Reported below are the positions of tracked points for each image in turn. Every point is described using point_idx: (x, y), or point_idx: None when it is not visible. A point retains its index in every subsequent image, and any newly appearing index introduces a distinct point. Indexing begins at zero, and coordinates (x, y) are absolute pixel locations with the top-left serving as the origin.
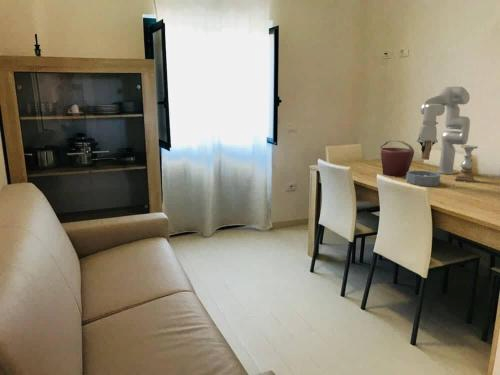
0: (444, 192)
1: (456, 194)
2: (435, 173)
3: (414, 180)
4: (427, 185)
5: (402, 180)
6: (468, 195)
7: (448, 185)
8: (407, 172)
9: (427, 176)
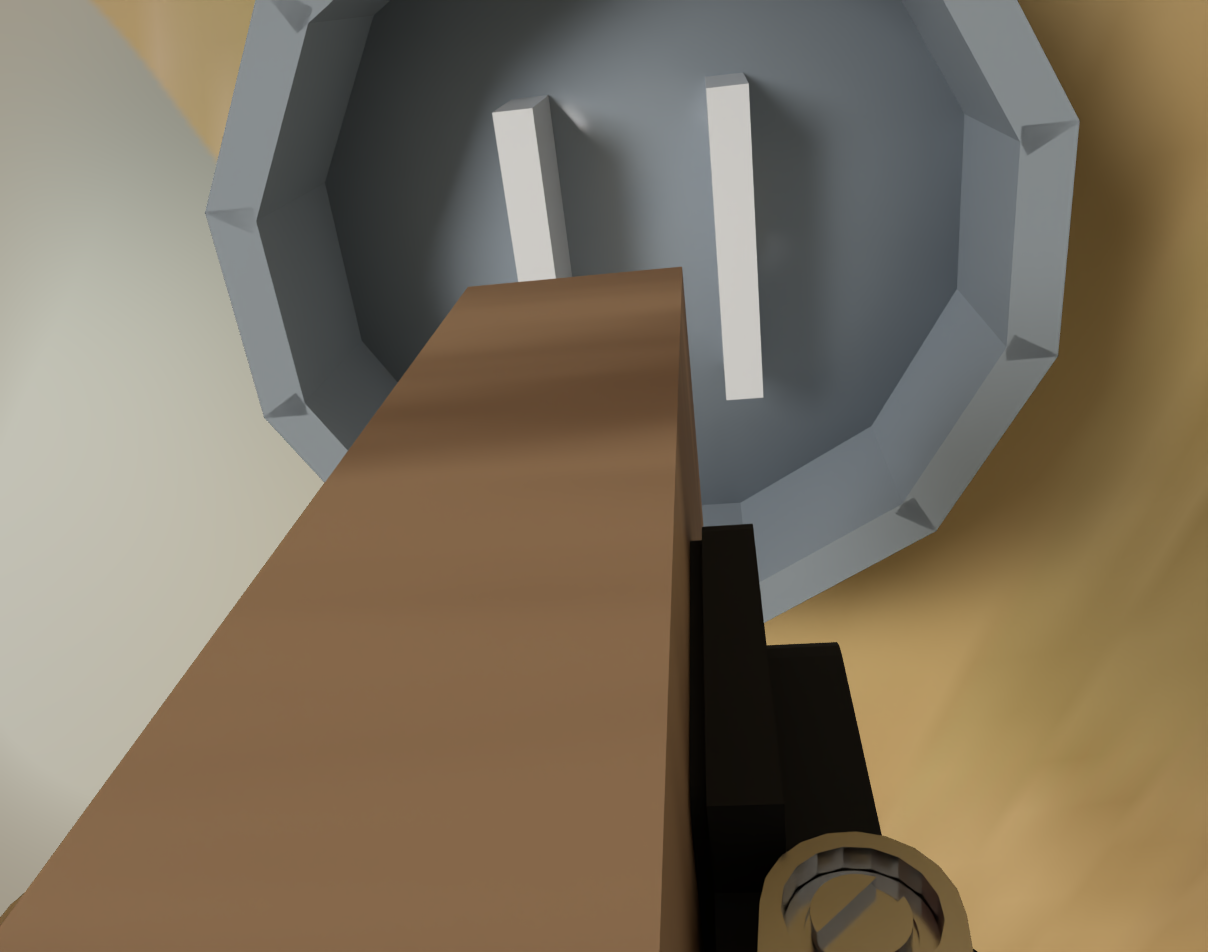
0: None
1: None
2: (1012, 135)
3: None
4: None
5: (230, 36)
6: (1114, 930)
7: (1148, 351)
8: (225, 241)
9: None
